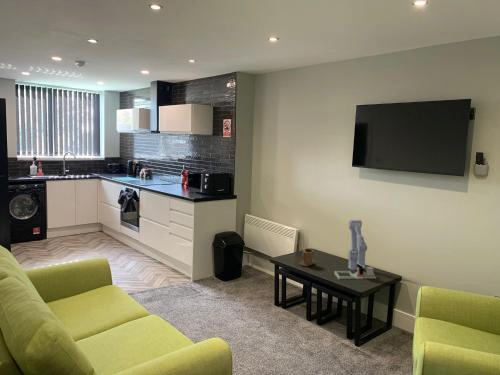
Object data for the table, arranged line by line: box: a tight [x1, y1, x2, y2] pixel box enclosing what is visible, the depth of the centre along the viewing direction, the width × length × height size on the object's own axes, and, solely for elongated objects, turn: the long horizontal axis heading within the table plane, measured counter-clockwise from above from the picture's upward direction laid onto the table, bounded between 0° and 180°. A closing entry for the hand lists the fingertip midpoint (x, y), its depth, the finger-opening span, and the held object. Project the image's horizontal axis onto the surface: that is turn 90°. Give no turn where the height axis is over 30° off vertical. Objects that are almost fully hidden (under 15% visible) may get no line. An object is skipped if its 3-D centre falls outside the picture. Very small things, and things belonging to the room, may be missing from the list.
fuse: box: [365, 266, 374, 277], centre depth 318 cm, size 3×5×7 cm, turn 93°
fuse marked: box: [356, 267, 365, 277], centre depth 318 cm, size 3×5×7 cm, turn 93°
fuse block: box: [352, 271, 377, 279], centre depth 319 cm, size 10×18×4 cm, turn 93°
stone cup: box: [298, 248, 316, 267], centre depth 345 cm, size 15×12×15 cm
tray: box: [334, 270, 356, 281], centre depth 318 cm, size 13×13×3 cm
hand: (360, 273), depth 318 cm, fingers closed on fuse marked, 3 cm apart
